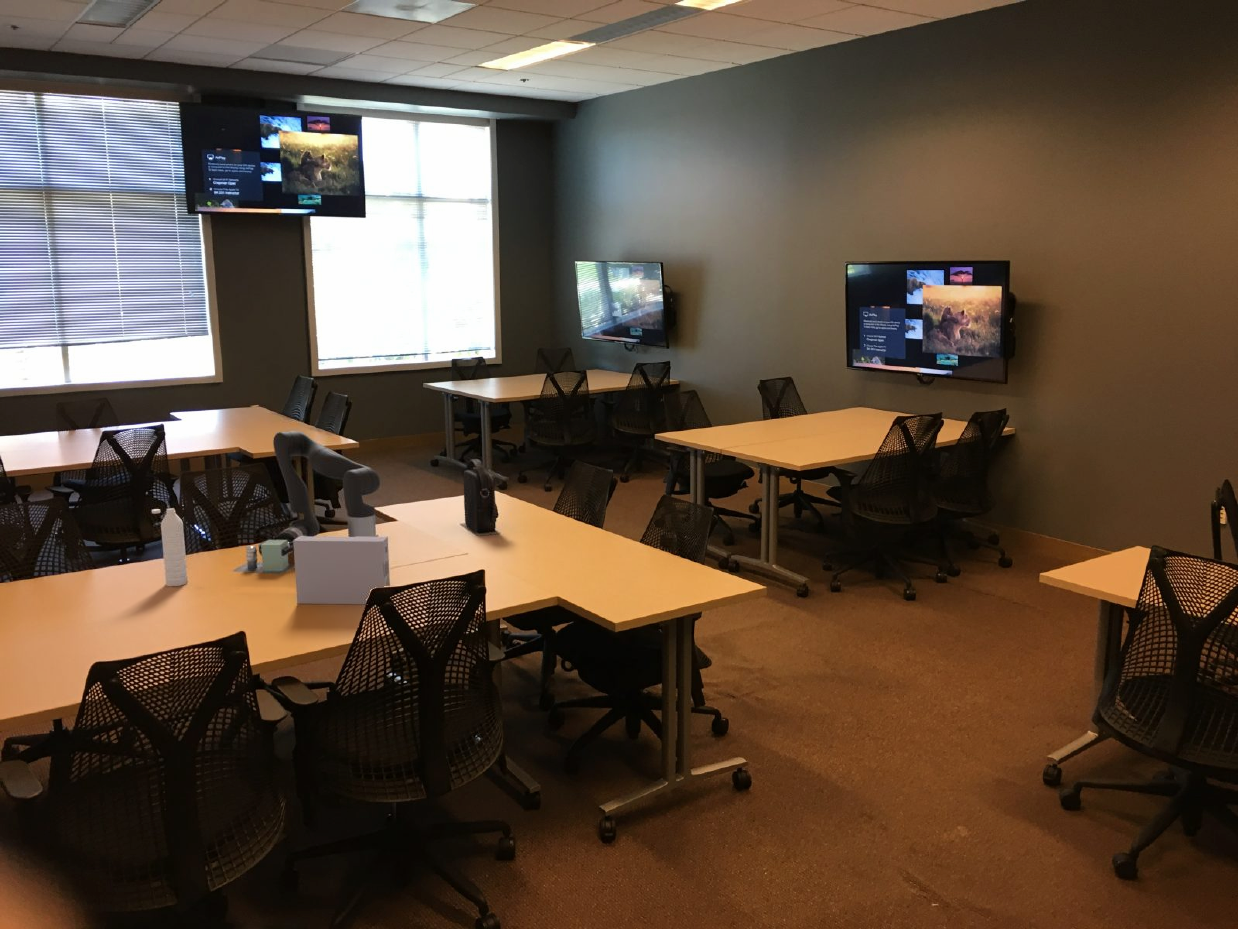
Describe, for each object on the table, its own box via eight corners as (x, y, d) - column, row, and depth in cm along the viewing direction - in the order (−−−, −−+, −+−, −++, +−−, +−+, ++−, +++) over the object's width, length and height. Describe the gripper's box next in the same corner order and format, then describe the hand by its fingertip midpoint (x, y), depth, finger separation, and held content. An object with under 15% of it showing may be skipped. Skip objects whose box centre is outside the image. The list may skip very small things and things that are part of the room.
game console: (303, 598, 306) (299, 535, 302) (390, 599, 305) (388, 536, 301) (296, 604, 300) (292, 540, 296) (385, 605, 299) (383, 541, 295)
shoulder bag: (458, 523, 399) (456, 455, 394) (479, 521, 403) (478, 453, 398) (478, 536, 379) (476, 464, 374) (500, 533, 384) (499, 462, 378)
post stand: (298, 568, 336) (296, 544, 335) (281, 578, 326) (279, 553, 324) (249, 566, 340) (247, 542, 338) (231, 575, 329) (229, 550, 327)
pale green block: (288, 565, 335) (286, 539, 333) (282, 571, 328) (280, 544, 327) (269, 565, 335) (267, 539, 333) (262, 571, 329) (261, 544, 327)
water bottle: (187, 579, 324) (181, 505, 319) (188, 585, 318) (182, 509, 314) (158, 583, 320) (151, 508, 316) (158, 588, 314) (151, 512, 310)
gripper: (267, 529, 344) (249, 542, 328) (309, 529, 344) (293, 542, 327) (269, 550, 345) (251, 563, 329) (310, 550, 345) (294, 564, 329)
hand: (272, 553), depth 328 cm, fingers closed on pale green block, 6 cm apart
